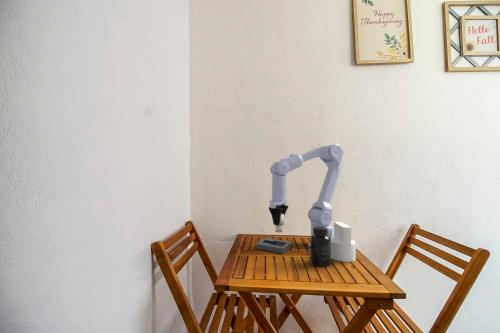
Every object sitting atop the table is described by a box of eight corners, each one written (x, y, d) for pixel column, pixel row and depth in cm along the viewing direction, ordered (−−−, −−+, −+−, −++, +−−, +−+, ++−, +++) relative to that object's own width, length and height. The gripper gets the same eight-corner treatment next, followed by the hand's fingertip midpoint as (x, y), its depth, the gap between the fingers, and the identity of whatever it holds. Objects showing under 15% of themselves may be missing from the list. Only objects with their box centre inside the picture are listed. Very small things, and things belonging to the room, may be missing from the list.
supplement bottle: (331, 261, 79) (331, 226, 80) (331, 268, 73) (331, 231, 73) (310, 258, 81) (311, 224, 82) (309, 265, 75) (309, 229, 75)
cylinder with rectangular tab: (326, 252, 88) (326, 221, 88) (349, 253, 88) (349, 222, 88) (334, 261, 79) (334, 227, 79) (360, 262, 79) (360, 227, 79)
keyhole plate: (291, 246, 94) (291, 241, 94) (283, 253, 85) (283, 248, 85) (265, 242, 100) (265, 237, 100) (255, 248, 91) (255, 243, 91)
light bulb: (285, 231, 92) (285, 214, 93) (281, 233, 89) (281, 215, 89) (276, 229, 95) (276, 213, 95) (271, 231, 91) (271, 214, 91)
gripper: (276, 189, 101) (275, 219, 100) (262, 191, 88) (262, 226, 87) (291, 190, 97) (291, 221, 97) (280, 192, 85) (279, 228, 84)
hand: (278, 223), depth 92 cm, fingers closed on light bulb, 4 cm apart
